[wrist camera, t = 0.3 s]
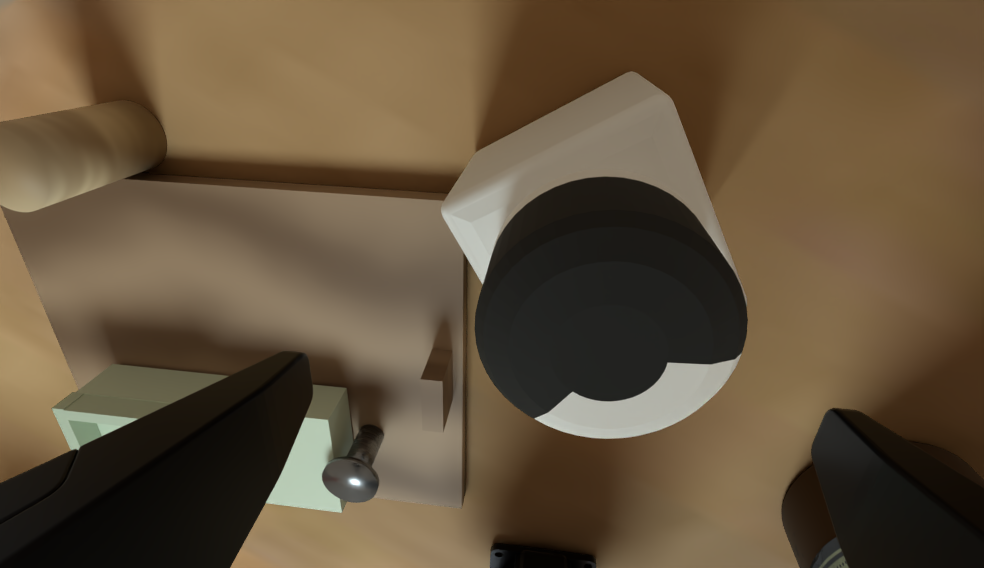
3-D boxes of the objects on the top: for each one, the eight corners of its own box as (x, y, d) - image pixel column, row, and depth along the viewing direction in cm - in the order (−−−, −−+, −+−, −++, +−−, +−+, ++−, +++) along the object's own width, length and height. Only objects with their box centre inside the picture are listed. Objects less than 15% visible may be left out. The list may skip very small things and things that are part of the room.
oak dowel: (174, 170, 23) (61, 215, 18) (113, 167, 24) (-16, 209, 18) (156, 101, 22) (28, 127, 17) (92, 98, 22) (-54, 122, 17)
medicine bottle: (470, 153, 22) (383, 283, 11) (635, 66, 19) (724, 124, 9) (545, 290, 24) (533, 505, 13) (698, 228, 22) (827, 425, 11)
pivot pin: (397, 456, 29) (379, 505, 26) (349, 450, 29) (325, 499, 26) (395, 417, 27) (375, 464, 24) (344, 411, 28) (318, 458, 25)
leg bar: (346, 388, 27) (317, 438, 23) (357, 477, 29) (333, 532, 26) (110, 363, 28) (51, 408, 25) (143, 451, 31) (94, 501, 28)
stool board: (464, 494, 31) (462, 508, 30) (123, 453, 33) (110, 465, 32) (467, 194, 22) (463, 202, 21) (6, 164, 24) (-15, 169, 23)
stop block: (452, 399, 26) (443, 432, 24) (433, 397, 26) (422, 430, 24) (452, 350, 25) (442, 381, 23) (432, 348, 25) (420, 379, 23)
